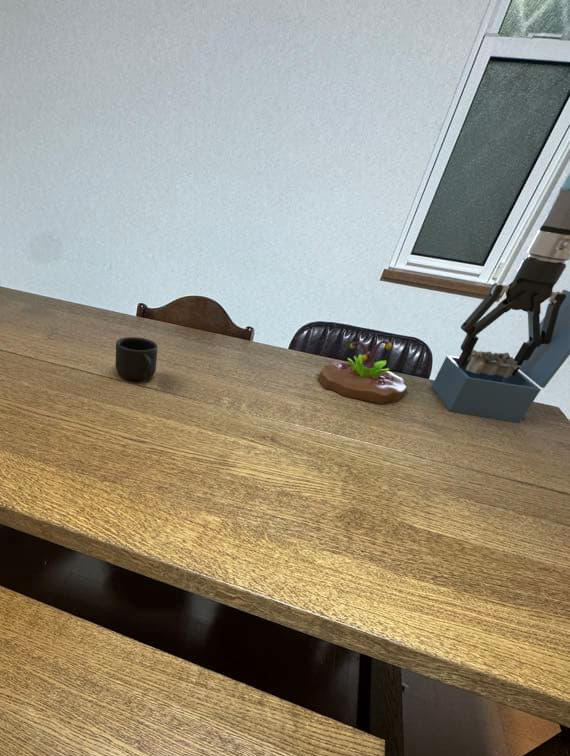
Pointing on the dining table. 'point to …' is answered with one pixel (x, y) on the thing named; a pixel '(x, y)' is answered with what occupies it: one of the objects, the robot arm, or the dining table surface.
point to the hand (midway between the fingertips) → (485, 369)
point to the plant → (364, 378)
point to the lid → (551, 349)
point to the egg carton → (491, 363)
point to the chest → (484, 392)
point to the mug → (136, 358)
